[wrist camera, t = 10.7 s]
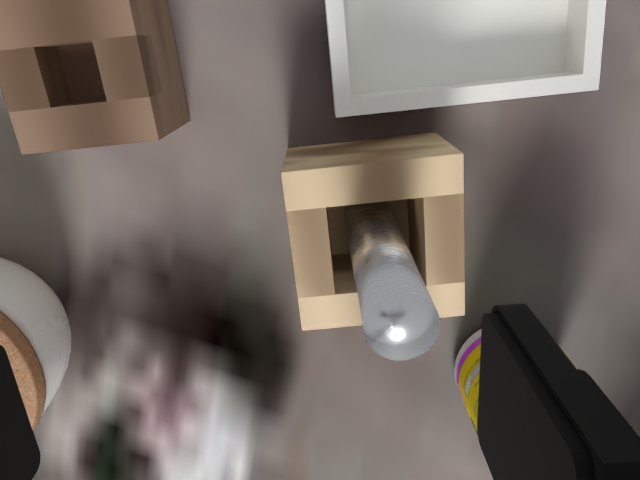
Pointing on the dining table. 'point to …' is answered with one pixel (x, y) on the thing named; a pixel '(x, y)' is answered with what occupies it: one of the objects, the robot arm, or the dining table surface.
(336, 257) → the oak block
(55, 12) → the walnut block
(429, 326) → the steel pin
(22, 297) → the lidded jar
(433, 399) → the dining table surface
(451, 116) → the dining table surface
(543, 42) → the tray
